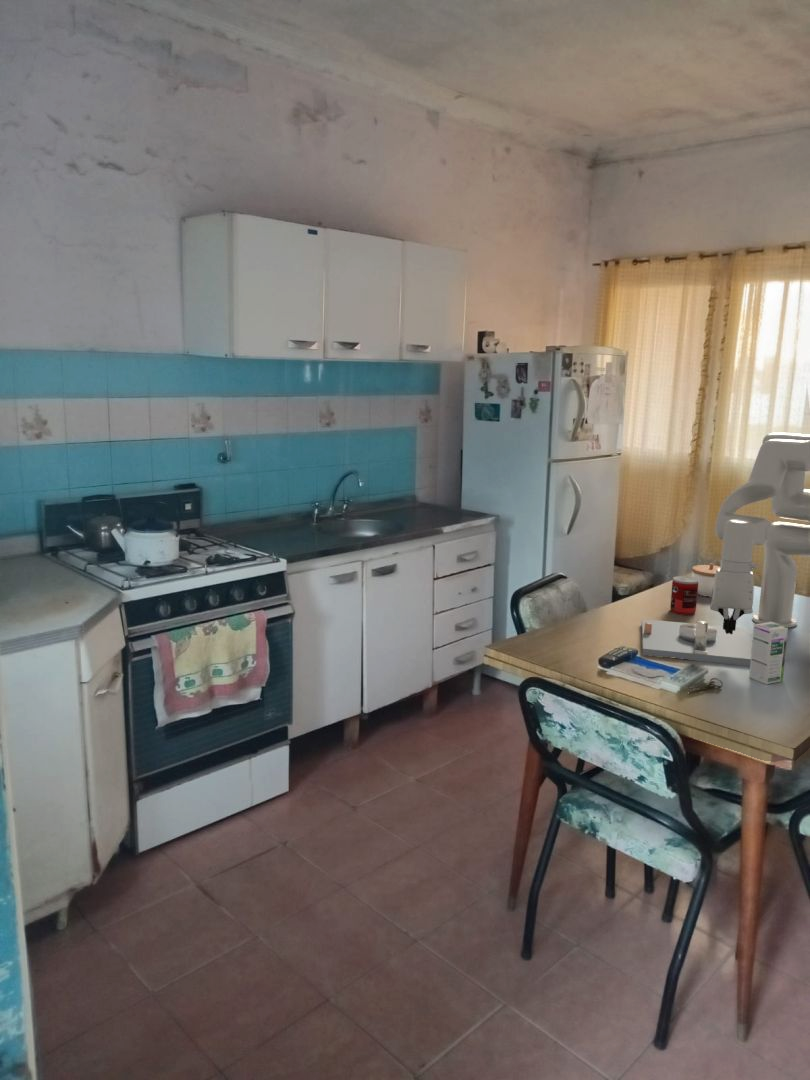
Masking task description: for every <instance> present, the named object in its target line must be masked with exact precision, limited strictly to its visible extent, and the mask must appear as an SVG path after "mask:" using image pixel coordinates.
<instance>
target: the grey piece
mask: <svg viewBox="0 0 810 1080" xmlns="http://www.w3.org/2000/svg"><path fill="white" fill-rule="evenodd" d="M708 625H709V622H708V621H705V620H697V621H696V623H692V624H683V625H681V626H680V629H679V637H680V638H682V639H684V640H686V641H690V642H694V644H695V645H694V649H696V650H700V651H704V650H706V643H712V642H715V641H716V635H717V630H716V629H715V628H713V627H710V626H708Z"/></svg>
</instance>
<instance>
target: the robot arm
mask: <svg viewBox="0 0 810 1080" xmlns="http://www.w3.org/2000/svg"><path fill="white" fill-rule="evenodd" d="M806 472H810V434H807V433H803V434H802V433H792V432H772V433H767V434H766V435H765V436H764V437H763V440H762V443H761V445H760V447H759V450H758V452H757V455H756V458H755V461H754V464H753V467H752V470H751V473H750V476H749V478H748V480H747V482H746V483H744V484H742V485H740V486H738V488H736V489H734V491H732V492H731V493H730V494H729V495H728V496H727V497H725V499H724V501H723V502H722V504H721V506H720V509H719V512H718V515H717V517H716V521H715V525H714V533H715V534H714V535H715V536H716V537H717V538H718V539H719V540H721V541H722V546H721V558H720V569H717V571H716V574H715V578H714V583H713V589H712V596H711V597H710V598H711V600H710V601H711V602H710V606H709V609H710V610H711V611H714V612H717V613H719V614H720V615H721V616H722V617H723V622H722V624H723V625H722V626H723V630H725V632H726V634H728V633H729V634H733V631H735V628H736V626H737V621H738V620H739V618H741V617H742V616H744V615H749V614H753V613H754V611H753V606H754V605H753V604H754V594H755V593H754V590H755V588H754V587H755V585H754V584H755V583H754V573H753V571H752V570H755V569H758V563H755V562H753V553H754V546H763V553H764V554H763V568H762V578H761V585H760V586H761V587H760V588H761V589H760V596H759V605H758V612H757V613H754V614H753V615H752V621H754V622H755V624H760V623H767V622H770V621H771V622H774V623H778V624H781V625H783V626H786V627H787V628H788V629H789V628H793V627H796V626H797V623H798V622H797V619H796V618H794V617H793V610H794V600H795V593H796V586H797V585H796V583H797V576H798V568H797V564H796V562H795V561H794V559H793V557H792V556H797V557H805V558H810V489H808V488H805V479H806V478H805V477H806ZM770 498H771V513H772V514H773V515H774V516H775V517H777V518H780V519H785V520H792V521H793V520H794V521H800V522H801V521H802V522H807V523H809V524H802V523H797V522H787V521H774V522H770V521H769V520H768V519H766V518H763V517H758V516H750V515H744V514H735V513H736V512H737V511H738V510H739V509H741V508H743V507H744V506H747V505H750V504H753V503H754V504H755V503H757V502H760V501H764V500H767V499H770ZM729 609H731V610H732V614H731V615H729Z"/></svg>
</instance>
